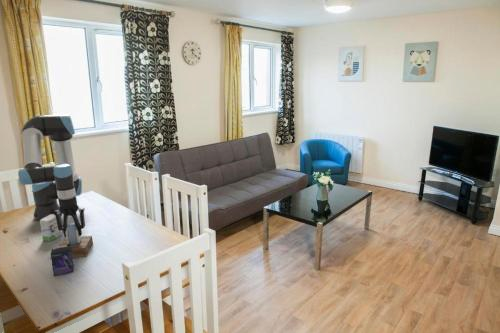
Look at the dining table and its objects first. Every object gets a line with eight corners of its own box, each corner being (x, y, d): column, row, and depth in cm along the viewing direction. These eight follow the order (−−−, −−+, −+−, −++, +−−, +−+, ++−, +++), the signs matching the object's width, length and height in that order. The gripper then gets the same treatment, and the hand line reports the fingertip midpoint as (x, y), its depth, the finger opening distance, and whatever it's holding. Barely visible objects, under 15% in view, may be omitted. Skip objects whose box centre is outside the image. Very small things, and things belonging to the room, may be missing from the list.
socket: (66, 246, 175) (64, 237, 173) (93, 244, 177) (91, 235, 175) (56, 260, 162) (55, 250, 161) (86, 257, 164) (84, 247, 163)
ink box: (54, 233, 189) (51, 213, 186) (62, 234, 188) (59, 214, 185) (42, 240, 181) (38, 220, 178) (51, 241, 180) (47, 220, 177)
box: (53, 276, 149) (49, 254, 146) (54, 270, 154) (51, 248, 151) (74, 272, 152) (70, 250, 149) (74, 266, 157) (71, 244, 154)
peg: (72, 249, 171) (68, 223, 167) (81, 248, 171) (77, 222, 168) (69, 253, 167) (65, 226, 163) (78, 252, 168) (74, 225, 164)
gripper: (44, 201, 157) (52, 247, 163) (84, 198, 160) (90, 244, 166) (50, 195, 164) (58, 240, 170) (88, 193, 167) (94, 237, 173)
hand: (74, 241), depth 168 cm, fingers closed on peg, 4 cm apart
